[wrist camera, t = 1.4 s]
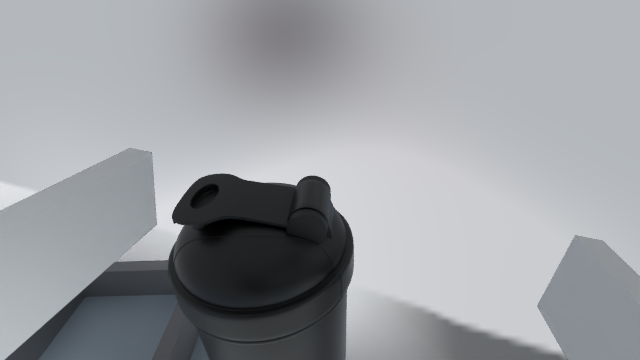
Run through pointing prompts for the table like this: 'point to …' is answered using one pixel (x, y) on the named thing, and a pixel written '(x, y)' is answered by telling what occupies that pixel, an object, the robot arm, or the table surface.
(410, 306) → the table surface
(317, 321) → the water bottle
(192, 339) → the walled base tray
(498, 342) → the table surface
